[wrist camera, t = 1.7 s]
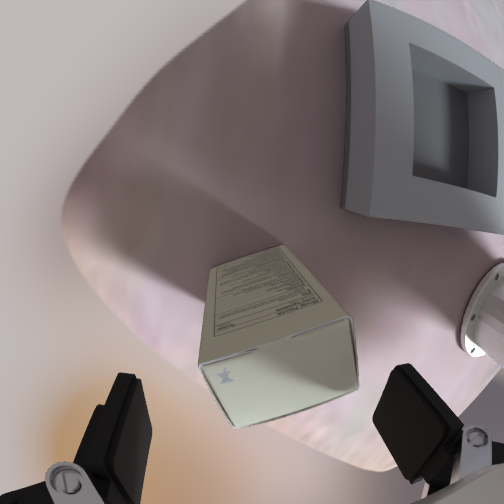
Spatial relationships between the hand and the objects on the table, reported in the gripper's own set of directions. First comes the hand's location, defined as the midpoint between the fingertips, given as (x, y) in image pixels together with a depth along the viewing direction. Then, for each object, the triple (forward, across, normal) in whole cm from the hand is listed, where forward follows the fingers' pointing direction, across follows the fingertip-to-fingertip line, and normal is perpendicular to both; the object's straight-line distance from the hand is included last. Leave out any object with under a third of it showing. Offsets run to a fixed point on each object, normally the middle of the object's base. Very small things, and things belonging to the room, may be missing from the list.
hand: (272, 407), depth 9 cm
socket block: (+13, -15, -14) cm, 24 cm away
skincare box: (+14, -1, 0) cm, 14 cm away
